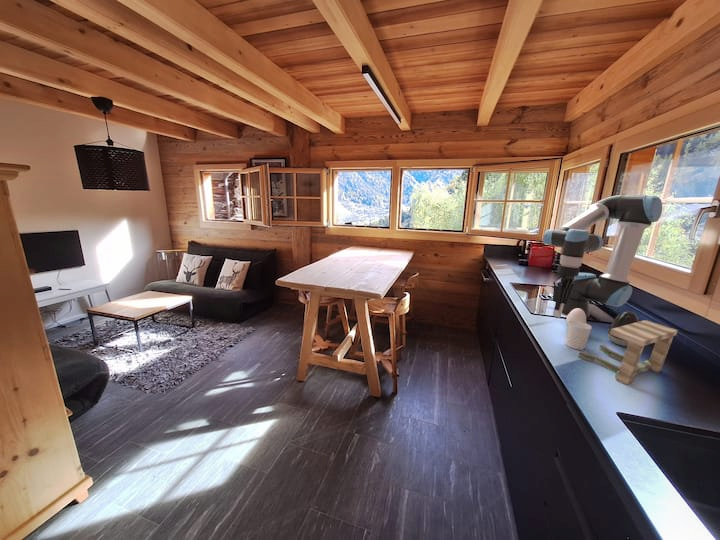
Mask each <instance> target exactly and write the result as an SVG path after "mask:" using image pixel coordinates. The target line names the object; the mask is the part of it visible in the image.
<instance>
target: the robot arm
mask: <svg viewBox="0 0 720 540" xmlns="http://www.w3.org/2000/svg"><path fill="white" fill-rule="evenodd" d="M662 211H663V201H662V200H661V198H660V197H659V196H656V195H648V194H647V195H645V194H644V195H640V194H638V195H633V194H631V195H630V194H629V195H628V194H627V195H625V194H621V195H620V194H617V195H612V196H609V197H606V198H603V199H600V200H598V201H596V202H594V203H593V204H591V205H589V206H588V208H587V209H586V210H585V211H584V212H582V213H581V214H579V215H578V216H576V217H574V218H572V219H571V220H570V221H568V222H566V223H565V224H564V225H562V226H561V227H559V228H556V229H546V231H545V232H544V233H543V236H542V241H543V243H544V244H545V245H548V246H551V247H558V248H562V251H561V255H560V258H559V259H560V260H559V264H558V266H557V271H556V272H557V273H558V274H559V276H558V277H557V280H554V281H553V295H552V301H553V302H554V303H555V304H554V307H553V312H552V316H553V317H555V318H557V319H558V318H560V319H561V317H562V315H565V316H568V314H569V313H570V312H571V311H572V310H573V309H576V308H580V309H582V310H583V311H584V312H585V315H586V319H588V318H589V317H590V316H591V315H590V313H591V311H590V304H589V302H590V300H591V301H594V302H597V303H600V304H604V305H605V306H606V305H607V306H611V307H615V308H617V307H618V308H619V307H622V306H623V305H625V304H626V303H627V301H629V299H630V298H631V296H632V293H633V287H632V286H631V285H630V280H629V278H628V277H629V273H630V270H631V268H632V266H633V262H634V259H635V258H636V257H635V256H636V254H637V251H638V248H639V246H640V243H641V241H642V238H643V235H644V232H645V230H646V229H648V228H650V227H651V225H652V223H655V222H656V223H657V222H658V221H659V220H660V219H661V216H662ZM609 219H614V220H618V223H617V224H619V226H620V228H619V230H618V234H617V237H616V239H615V242H614V245H613V248H612V250H611V254H610V257H609V260H608V262H607V266H606V268H605V271H604V273H602V274H600V275H599V277H598V278H597V274H594V273H591V272H580V270H581V269H580V267H582V263H583V258H584V255H585V252H586V253H593V252H596V251H599V250H600V249H602V248H603V246H604V239H603V237H601V236H600V235H599V234H594V233H590V232H589V230H588V229H590V228H591V227H593V226H594V225H595V224H597V223H598V222H603V221H605V220H609Z"/></svg>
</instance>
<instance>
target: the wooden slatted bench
mask: <svg viewBox="0 0 720 540" xmlns="http://www.w3.org/2000/svg"><path fill="white" fill-rule="evenodd" d="M678 331H679V330H678V329H676V328H672V327H670V326H666V325H663V324H660V323H656V322H653V321H650V320H647V319H644V320H641V321H639V322H636V323H632V324H628V325H624V326H621V327H617V328H613V329H611V331H610V335H613V336H616V337H618V338H621V339H623V340H626V341H629V342H628V345H627V346H626V349H625V353H624V354H620V353H618V352H616V351H613V349H610V348H609V347H608V346H606V345H604V344H600V345H599V347H598V349H599V351H601V352H602V353H604V354H606V356H609V357H611V358H613V359H615V360H617V361H620V362H621V363H620V364H621V365H620V366H618V365H616V364H614V363H612V362H609V361H607V360H605V359H603V358H602V357H599V356H596V355H594V354H591V353H587V352H583V351H582V350H581V351H580V350H579V353H578V358H581V359H583V360H586V361H590V362H593V363H595V364H597V365H599V366H601V367H604V368H605V369H607V370H610V371H612V372H614V373H616V374H615V377H614V378H615V379H616V381H618V382H619V383H620V384H621V383H622V384H624V385H625V386H629V385H631V384H632V383H633V379H634V377H635V376H637V375H640V374H642V373H644V372H648V371H652V372H655V373H660V372H661V371H662V368H663V366H664V363H665V360H666V357H667V356H668V352H669V350H670V347H671V344H672V342H673V338H674V336H677V334H678ZM651 344H654V345H653V349H652V351H651V354H650V357H649V359H645V360H644V361H641V362H640V359H641V356H642V353H643V351H644V348H645V346H648V345H651Z"/></svg>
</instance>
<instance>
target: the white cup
mask: <svg viewBox="0 0 720 540" xmlns="http://www.w3.org/2000/svg"><path fill="white" fill-rule="evenodd" d="M592 329H593V327H592V325H590V324H588V323H587V322H586V323H583V322H580V321H569V323H568V327H567V328H566V334H565V341H564V344H565V345H566V346H567V347H569V348H571V349H575V350H579V351H580V350H581V351H582V350H584V349H585V347H586V345H587V343H588V340H589V337H590V334H591V331H592Z"/></svg>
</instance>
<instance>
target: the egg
mask: <svg viewBox="0 0 720 540" xmlns="http://www.w3.org/2000/svg"><path fill="white" fill-rule="evenodd" d="M569 321H580V322H583V323H586V324H587V318H586V315H585V312H584V311H583V310H582V309H580V308H576V309H573V310H572V311H571V312H570V313H569V314H568V315H566V322H565V324H566V326H567V328H568V323H569Z"/></svg>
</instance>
